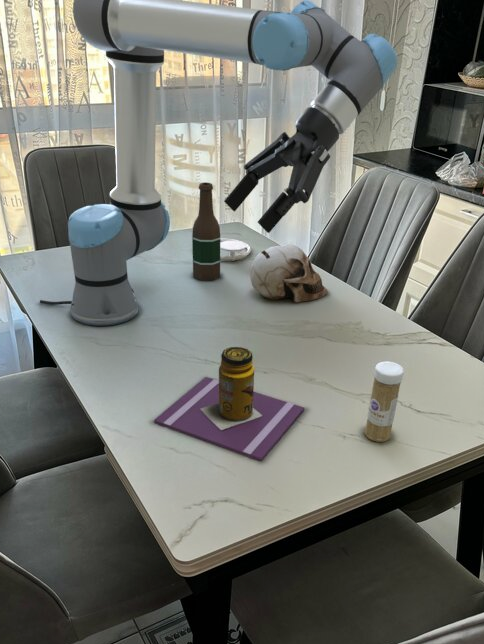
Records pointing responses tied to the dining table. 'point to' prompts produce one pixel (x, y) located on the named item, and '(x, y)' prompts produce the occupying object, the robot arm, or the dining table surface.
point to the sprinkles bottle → (383, 400)
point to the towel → (240, 438)
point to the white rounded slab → (233, 248)
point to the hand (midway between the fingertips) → (245, 216)
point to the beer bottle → (206, 238)
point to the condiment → (234, 390)
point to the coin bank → (286, 275)
